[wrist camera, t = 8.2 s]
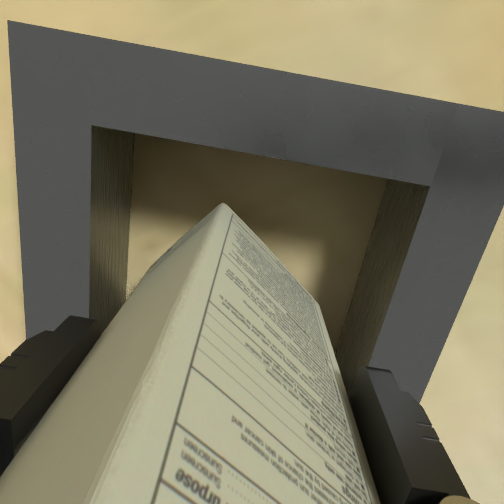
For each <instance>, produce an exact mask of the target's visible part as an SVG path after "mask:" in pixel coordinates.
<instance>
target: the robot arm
mask: <svg viewBox="0 0 504 504" xmlns="http://www.w3.org/2000/svg"><path fill="white" fill-rule="evenodd" d="M100 336H101V323H100V321H99V320H97V319H91V318H85V317H79V316H73V315H71V316H69V317H67V318H66V319H65V320H64V321H63V322H62V323H61V324H60V325H59V326H58V327H57V328H56V329H55V330H54V331H48V330H45V331H43V332H41V333H39V334H37V335H35V336H33V337H31V338H29V339H27V340H25V341H24V342H23V343H22V344H21V345H20V346H19V347H18V348H17V349H16V350H15V351H13V352H12V353H11V356H8V357H7V358H6V359H5V360H4V361H3V362H2V363H1V364H0V477H1V475H2V474H3V472H4V471H5V470H6V468H7V467H8V465H9V464H10V462H11V461H12V460H13V458H14V457H15V455H16V454H17V453H18V451H19V450H20V448H21V447H22V446H23V444H24V443H25V441H26V440H27V439H28V437H29V436H30V434H31V433H32V432H33V430H34V429H35V428H36V426H37V425H38V423H39V422H40V420H41V419H42V417H43V416H44V415H45V413H46V412H47V410H48V409H49V407H50V406H51V405H52V403H53V402H54V401H55V399H56V398H57V397H58V395H59V394H60V392H61V391H62V390H63V388H64V387H65V385H66V384H67V382H68V381H69V380H70V378H71V377H72V375H73V374H74V373H75V371H76V370H77V369H78V367H79V366H80V364H81V363H82V361H83V360H84V359H85V357H86V356H87V354H88V353H89V352H90V350H91V349H92V348H93V346H94V345H95V343H96V342H97V340H98V339H99V338H100ZM349 402H350V406H351V409H352V412H353V415H354V418H355V422H356V425H357V428H358V431H359V435H360V438H361V441H362V444H363V447H364V451H365V454H366V457H367V460H368V464H369V467H370V470H371V473H372V477H373V480H374V483H375V486H376V490H377V493H378V496H379V499H380V503H381V504H479V503H477V502H476V501H474V500H471V498H470V496H469V495H468V493H467V491H466V489H465V487H464V485H463V483H462V481H461V479H460V477H459V476H458V474H457V472H456V470H455V468H454V466H453V464H452V462H451V460H450V458H449V456H448V455H447V453H446V451H445V449H444V447H443V445H442V443H440V442H439V437H438V436H437V434H436V432H435V430H434V428H432V424H431V422H430V420H429V418H428V416H427V415H426V413H425V411H424V409H423V407H422V406H421V405H420V404H419V403H418V402H417V401H416V400H415V399H414V398H413V397H412V396H411V395H410V394H409V393H408V392H404V391H400V389H399V386H398V384H397V382H396V380H395V378H394V376H393V374H392V372H391V371H390V370H387V369H381V368H375V367H369V366H361V367H360V368H359V370H358V372H357V375H356V378H355V381H354V384H353V387H352V390H351V393H350V396H349Z"/></svg>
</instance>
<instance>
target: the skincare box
mask: <svg viewBox="0 0 504 504" xmlns="http://www.w3.org/2000/svg"><path fill="white" fill-rule="evenodd" d="M0 504H381V503H380V499H379V496H378V493H377V490H376V486H375V483H374V480H373V477H372V473H371V470H370V467H369V464H368V460H367V457H366V454H365V451H364V447H363V444H362V441H361V438H360V435H359V431H358V428H357V425H356V422H355V418H354V415H353V412H352V409H351V406H350V402H349V399H348V396H347V393H346V390H345V386H344V383H343V380H342V377H341V373H340V370H339V367H338V364H337V361H336V358H335V355H334V351H333V348H332V345H331V342H330V338H329V335H328V332H327V329H326V325H325V322H324V319H323V316H322V312H321V309H320V306H319V304H318V303H317V302H316V301H315V299H314V298H313V297H312V296H311V295H310V294H309V292H308V291H307V290H306V289H305V288H304V287H303V286H302V285H301V283H300V282H299V281H298V280H297V279H296V278H295V277H294V276H293V274H292V273H291V272H290V271H289V270H288V269H287V268H286V267H285V266H284V265H283V263H282V262H281V261H280V260H279V259H278V258H277V257H276V256H275V255H274V254H273V253H272V252H271V251H270V249H269V248H268V247H267V246H266V245H265V244H264V243H263V242H262V241H261V240H260V239H259V238H258V236H257V235H256V234H255V233H254V232H253V231H252V230H251V229H250V228H249V227H248V226H247V225H246V224H245V223H244V222H243V221H242V220H241V219H240V218H239V217H238V216H237V215H236V214H235V213H234V212H233V211H232V209H231V208H230V207H229V206H228V205H226V204H225V203H221V204H219V205H218V206H217V207H216V208H214V209H213V210H212V211H211V212H210V213H209V214H207V215H206V216H205V217H204V218H203V219H202V220H201V221H199V222H198V223H197V224H196V225H195V226H194V227H192V228H191V229H190V230H189V231H188V232H187V233H186V234H185V235H184V236H183V237H181V238H180V239H179V240H178V241H177V242H176V243H175V244H174V245H173V246H171V247H170V248H169V249H168V250H167V251H166V252H165V253H164V254H163V255H162V256H161V257H160V258H159V259H158V260H157V261H156V262H155V263H154V264H153V265H152V266H151V267H150V268H149V270H148V271H147V272H146V274H145V275H144V277H143V278H142V280H141V281H140V282H139V284H138V285H137V286H136V288H135V289H134V291H133V292H132V293H131V295H130V296H129V297H128V299H127V300H126V302H125V303H124V305H123V306H122V307H121V309H120V310H119V311H118V313H117V314H116V316H115V317H114V318H113V320H112V321H111V322H110V324H109V325H108V327H107V328H106V329H105V331H104V332H103V333H102V335H101V336H100V338H99V339H98V340H97V342H96V343H95V345H94V346H93V348H92V349H91V350H90V352H89V353H88V354H87V356H86V357H85V359H84V360H83V361H82V363H81V364H80V366H79V367H78V369H77V370H76V371H75V373H74V374H73V375H72V377H71V378H70V380H69V381H68V382H67V384H66V385H65V387H64V388H63V390H62V391H61V392H60V394H59V395H58V397H57V398H56V399H55V401H54V402H53V403H52V405H51V406H50V407H49V409H48V410H47V412H46V413H45V415H44V416H43V417H42V419H41V420H40V422H39V423H38V425H37V426H36V428H35V429H34V430H33V432H32V433H31V434H30V436H29V437H28V439H27V440H26V441H25V443H24V444H23V446H22V447H21V448H20V450H19V451H18V453H17V454H16V455H15V457H14V458H13V460H12V461H11V462H10V464H9V465H8V467H7V468H6V470H5V471H4V472H3V474H2V475H1V477H0Z"/></svg>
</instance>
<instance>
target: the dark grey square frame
mask: <svg viewBox="0 0 504 504" xmlns="http://www.w3.org/2000/svg"><path fill="white" fill-rule="evenodd" d="M7 22H8V39H9V56H10V73H11V90H12V107H13V123H14V140H15V157H16V174H17V191H18V208H19V224H20V241H21V258H22V275H23V292H24V308H25V325H26V340H27V339H29V338H31V337H33V336H35V335H37V334H39V333H41V332H43V331H45V330H48V331H54V330H55V329H56V328H57V327H58V326H59V325H60V324H61V323H62V322H63V321H64V320H65V319H66V318H67V317H69V316H71V315H73V316H79V317H85V318H91V319H97V320H99V321H100V323H101V335H102V333H103V332H104V331H105V329H106V328H107V327H108V325H109V324H110V322H111V321H112V320H113V318H114V317H115V316H116V314H117V313H118V311H119V310H120V309H121V307H122V306H123V305H124V303H125V300H126V281H127V263H128V244H129V225H130V206H131V187H132V168H133V149H134V133H138V134H144V135H149V136H155V137H160V138H166V139H171V140H177V141H182V142H188V143H193V144H199V145H204V146H210V147H216V148H221V149H227V150H232V151H238V152H243V153H249V154H254V155H260V156H265V157H271V158H276V159H282V160H287V161H293V162H299V163H304V164H310V165H315V166H321V167H326V168H332V169H337V170H343V171H348V172H354V173H359V174H365V175H371V176H376V177H382V178H387V179H389V180H388V183H387V186H386V189H385V193H384V196H383V199H382V203H381V206H380V209H379V213H378V216H377V219H376V222H375V226H374V229H373V232H372V236H371V239H370V242H369V246H368V249H367V252H366V255H365V259H364V262H363V265H362V269H361V272H360V275H359V279H358V282H357V285H356V288H355V292H354V295H353V298H352V302H351V305H350V308H349V312H348V315H347V318H346V321H345V325H344V328H343V331H342V335H341V338H340V341H339V345H338V348H337V351H336V354H335V358H336V361H337V364H338V367H339V370H340V373H341V377H342V380H343V383H344V386H345V390H346V393H347V396H348V399H349V396H350V393H351V390H352V387H353V384H354V381H355V378H356V375H357V372H358V370H359V368H360V367H361V366H369V367H375V368H381V369H387V370H390V371H391V372H392V374H393V376H394V378H395V380H396V382H397V384H398V386H399V389H400V391H404V392H408V393H409V394H410V395H411V396H412V397H413V398H414V399H415V400H416V401H417V402H418V403H420V401H421V398H422V396H423V393H424V391H425V389H426V386H427V384H428V382H429V379H430V377H431V375H432V372H433V370H434V368H435V365H436V363H437V361H438V358H439V356H440V354H441V351H442V349H443V347H444V344H445V342H446V339H447V337H448V335H449V332H450V330H451V328H452V325H453V323H454V321H455V318H456V316H457V314H458V311H459V309H460V307H461V304H462V302H463V300H464V297H465V295H466V293H467V290H468V288H469V286H470V283H471V281H472V278H473V276H474V274H475V271H476V269H477V267H478V264H479V262H480V260H481V257H482V255H483V253H484V250H485V248H486V246H487V243H488V241H489V239H490V236H491V234H492V232H493V229H494V227H495V225H496V222H497V220H498V217H499V215H500V213H501V210H502V208H503V206H504V112H501V111H495V110H490V109H484V108H479V107H474V106H468V105H463V104H457V103H452V102H447V101H441V100H436V99H430V98H425V97H420V96H414V95H409V94H403V93H398V92H393V91H387V90H382V89H376V88H371V87H366V86H360V85H355V84H349V83H344V82H339V81H333V80H328V79H322V78H317V77H312V76H306V75H301V74H295V73H290V72H285V71H279V70H274V69H268V68H263V67H258V66H252V65H247V64H241V63H236V62H231V61H225V60H220V59H214V58H209V57H204V56H198V55H193V54H187V53H182V52H177V51H171V50H166V49H160V48H155V47H150V46H144V45H139V44H133V43H128V42H123V41H117V40H112V39H106V38H101V37H96V36H90V35H85V34H79V33H74V32H69V31H63V30H58V29H52V28H47V27H42V26H36V25H31V24H25V23H20V22H15V21H9V20H7Z"/></svg>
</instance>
